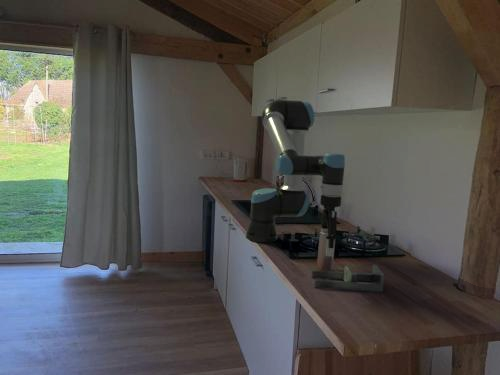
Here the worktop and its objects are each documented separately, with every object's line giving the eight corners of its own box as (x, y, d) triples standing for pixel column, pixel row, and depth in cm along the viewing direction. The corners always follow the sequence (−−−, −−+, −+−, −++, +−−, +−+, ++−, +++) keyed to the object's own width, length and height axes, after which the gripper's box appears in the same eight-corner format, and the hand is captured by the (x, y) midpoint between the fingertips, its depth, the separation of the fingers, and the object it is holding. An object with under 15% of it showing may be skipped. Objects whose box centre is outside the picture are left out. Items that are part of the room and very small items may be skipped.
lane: (310, 276, 147) (312, 260, 146) (374, 280, 147) (376, 264, 145) (314, 287, 137) (316, 270, 136) (382, 291, 137) (384, 275, 136)
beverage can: (321, 266, 158) (324, 229, 155) (335, 270, 154) (338, 232, 152) (313, 270, 153) (316, 232, 151) (327, 274, 150) (331, 235, 147)
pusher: (343, 279, 145) (344, 266, 144) (352, 280, 145) (354, 266, 144) (347, 287, 138) (348, 273, 138) (357, 287, 138) (358, 274, 138)
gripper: (316, 189, 161) (312, 240, 164) (326, 200, 136) (321, 260, 140) (335, 190, 161) (330, 241, 164) (348, 202, 136) (343, 261, 140)
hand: (326, 250), depth 152 cm, fingers open, 13 cm apart
